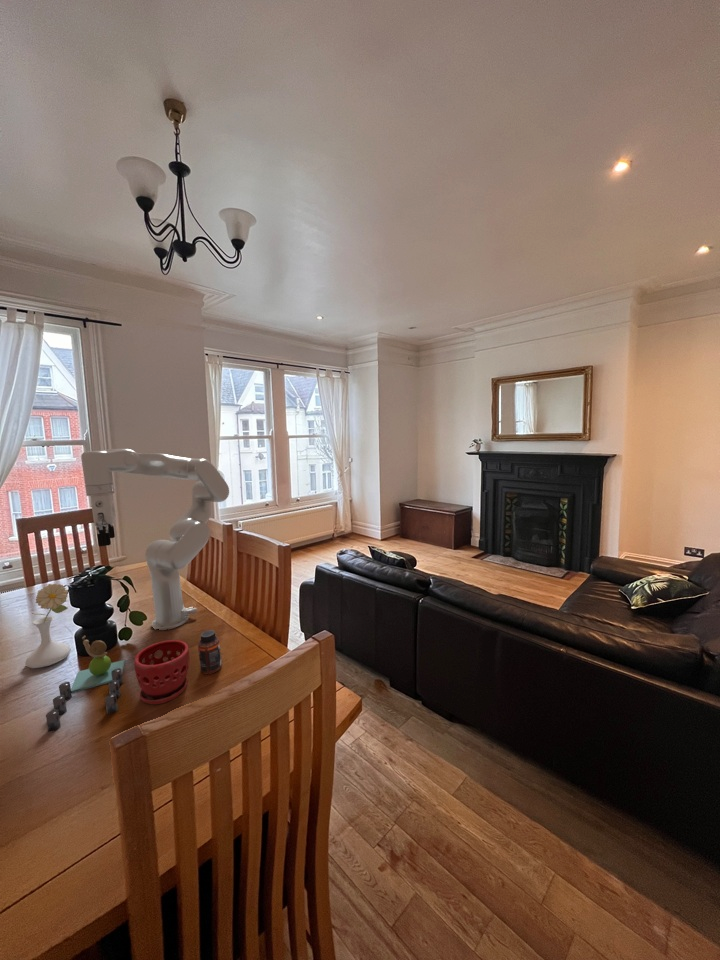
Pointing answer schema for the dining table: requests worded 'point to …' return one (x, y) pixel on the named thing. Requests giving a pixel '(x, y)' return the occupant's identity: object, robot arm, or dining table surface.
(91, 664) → the snail figurine
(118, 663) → the teal mat
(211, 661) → the supplement bottle
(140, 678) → the plant pot
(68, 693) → the spacer posts
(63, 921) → the dining table surface
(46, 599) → the flower in vase
